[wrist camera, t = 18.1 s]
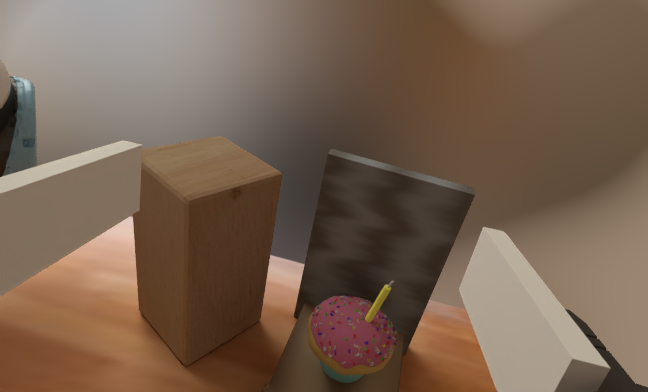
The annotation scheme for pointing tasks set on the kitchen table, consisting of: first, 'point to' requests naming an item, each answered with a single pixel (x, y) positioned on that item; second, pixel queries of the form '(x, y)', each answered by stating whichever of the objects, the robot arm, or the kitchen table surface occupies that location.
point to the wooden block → (203, 242)
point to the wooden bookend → (371, 259)
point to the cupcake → (351, 336)
